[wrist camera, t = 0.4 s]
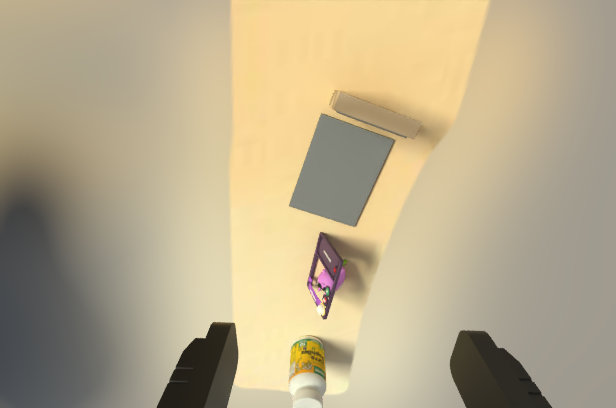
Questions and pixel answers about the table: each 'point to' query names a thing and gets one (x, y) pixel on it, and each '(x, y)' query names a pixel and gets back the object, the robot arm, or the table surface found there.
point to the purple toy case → (327, 274)
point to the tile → (374, 115)
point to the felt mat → (339, 170)
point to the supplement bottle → (307, 372)
